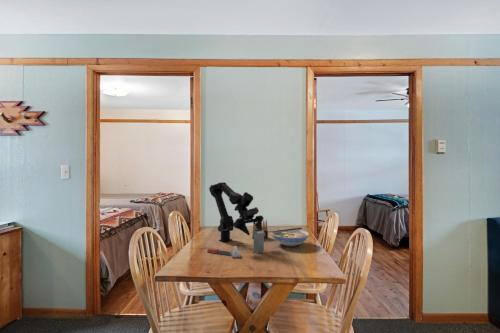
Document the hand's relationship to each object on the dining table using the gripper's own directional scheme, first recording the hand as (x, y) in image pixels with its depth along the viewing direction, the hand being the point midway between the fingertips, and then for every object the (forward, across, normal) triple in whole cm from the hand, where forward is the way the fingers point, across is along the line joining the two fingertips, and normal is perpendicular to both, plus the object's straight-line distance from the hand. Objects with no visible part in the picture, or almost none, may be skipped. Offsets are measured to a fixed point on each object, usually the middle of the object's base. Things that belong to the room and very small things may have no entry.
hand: (255, 233), depth 151 cm
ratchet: (+2, -17, +12) cm, 21 cm away
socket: (+9, 0, +5) cm, 10 cm away
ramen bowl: (+9, +25, +5) cm, 27 cm away
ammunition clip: (-8, +21, +22) cm, 31 cm away
